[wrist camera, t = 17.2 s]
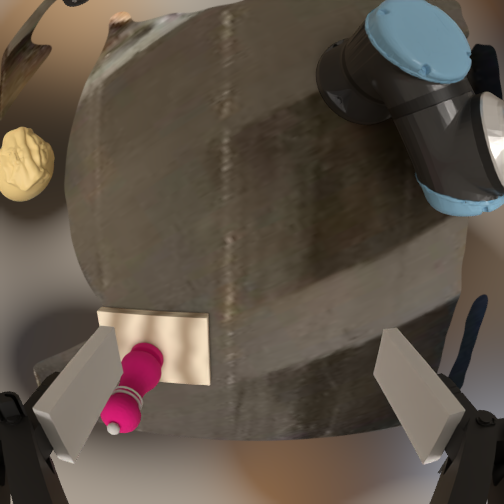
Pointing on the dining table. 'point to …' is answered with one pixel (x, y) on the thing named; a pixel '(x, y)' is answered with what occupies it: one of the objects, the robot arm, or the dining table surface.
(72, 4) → the milk frother
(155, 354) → the pepper mill
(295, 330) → the dining table surface
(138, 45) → the dining table surface
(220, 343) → the dining table surface
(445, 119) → the robot arm
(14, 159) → the sculpture
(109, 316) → the serving board
